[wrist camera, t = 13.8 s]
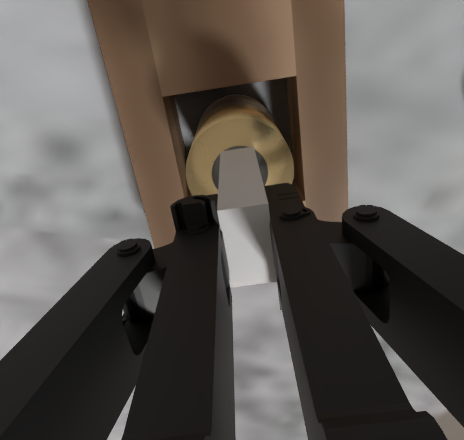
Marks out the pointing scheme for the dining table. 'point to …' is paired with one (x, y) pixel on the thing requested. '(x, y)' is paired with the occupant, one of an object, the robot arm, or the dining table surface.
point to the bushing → (236, 143)
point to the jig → (223, 75)
